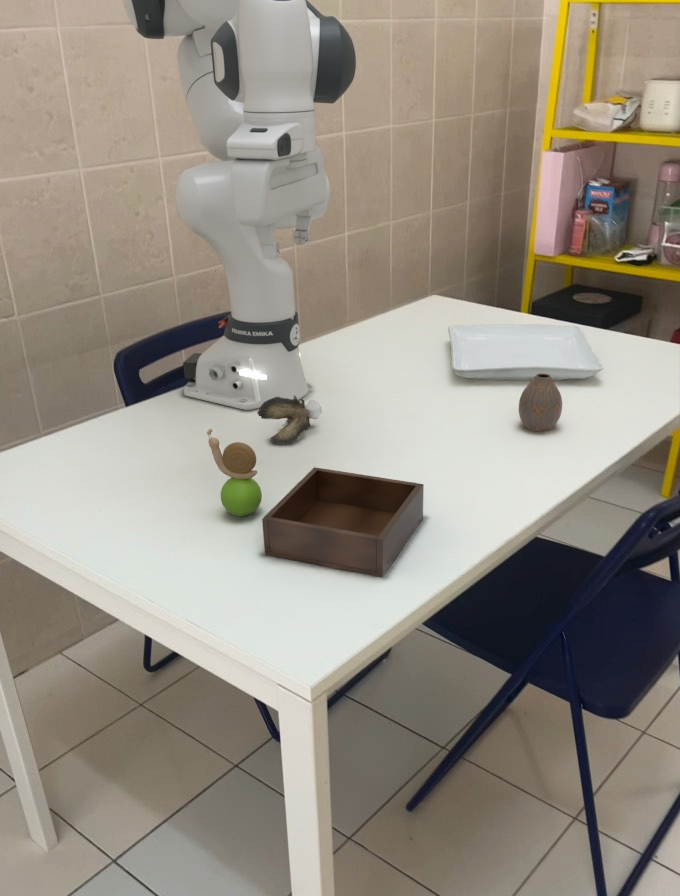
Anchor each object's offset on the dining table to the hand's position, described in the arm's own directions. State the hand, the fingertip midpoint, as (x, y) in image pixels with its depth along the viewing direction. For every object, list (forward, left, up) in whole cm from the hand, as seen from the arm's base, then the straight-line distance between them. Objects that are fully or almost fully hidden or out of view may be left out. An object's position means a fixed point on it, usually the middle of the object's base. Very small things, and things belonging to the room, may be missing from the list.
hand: (287, 250), depth 116 cm
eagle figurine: (-6, +10, -31) cm, 33 cm away
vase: (+31, +26, -31) cm, 51 cm away
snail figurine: (-1, -17, -31) cm, 36 cm away
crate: (+15, -18, -31) cm, 39 cm away
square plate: (+21, +57, -31) cm, 68 cm away
